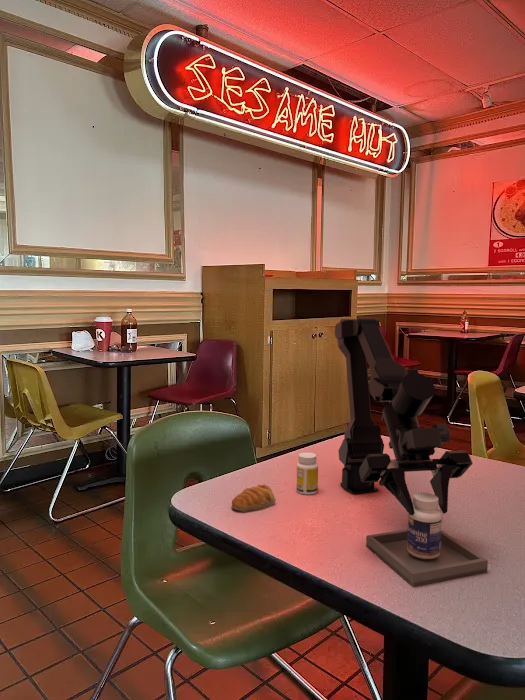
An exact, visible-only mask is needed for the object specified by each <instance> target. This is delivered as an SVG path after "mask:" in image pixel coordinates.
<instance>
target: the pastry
mask: <svg viewBox="0 0 525 700" xmlns="http://www.w3.org/2000/svg"><path fill="white" fill-rule="evenodd" d="M275 503H276V497H275V494H274V492H273V490H272V488H271V487H270V486H269V485H267V484H257V485H256V486H251V487H247V488H244V489H243V491H242V492H240V493H239V494H237V495H236V496H235V497H234V498H233V499H232V500H231V509H234V510H236V511H239V512H243V513H246V512H252V511H259V510H263V509H266V508H270V507H272V506H273V505H274V504H275Z"/></svg>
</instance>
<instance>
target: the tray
mask: <svg viewBox="0 0 525 700" xmlns="http://www.w3.org/2000/svg"><path fill="white" fill-rule="evenodd" d="M365 537H366V539H365V540H366V541H365V542H366V543H365V547H366V548H367V549H369V551H371V552H372V553H373V554H374V555H375V554H376V555H375V556H377V558H379V559H380V560H381V561H382V562H383V563H384V564H385V565H387V566H388V567H389V568H390V569H392V570H393V572H394V573H396V574H397V575H399V577H401V578H402V579H403V580H405V582H406V583H408V584H409V585H410V586H411V587H413V588H414V587H417V586H423V585H428V584H433V583H438V582H442V581H443V582H444V581H448V580H453V579H458V578H465V577H470V576H475V575H479V574H485V573H488V564H489V563H488V559H487V558H485V557H484V556H482V555H481V554H479V553H477V552H476V551H474V550H473V549H471V548H469V547H468V546H466V544H463V543H462V542H460V541H459V540H457V539H456V538H454V537H453V536H451V535H449V534H448V533H446V532H445V531H444V530H442V529H441V547H440V555H439V556H438V557H436V558H433V559H422V558H418V557H415V556H413V555H411V554H410V553H409V552H408V550H407V538H408V528H407V529H406V528H405V529H401V530H393V531H387V532H381V533H374V534H373V533H372V534H367V535H366V536H365Z"/></svg>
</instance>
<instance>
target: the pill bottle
mask: <svg viewBox="0 0 525 700" xmlns="http://www.w3.org/2000/svg"><path fill="white" fill-rule="evenodd" d="M412 503H413V507H414V512H415V513H414V515H410V514H409V513H408V512H407V514H408V515H407V517H408V519H407V520H408V521H407V529H408V538H407V550H408V552H409V553H410V554H411V555H413V556H415V557H418V558H422V559H433V558H436V557H438V556H439V555H440V547H441V530H442V525H443V524H442V523H443V513H442V511H441V509H440V508H439V504H438V497H437V496H435V494H434V493H429V492H418V493H414V495H413V499H412Z"/></svg>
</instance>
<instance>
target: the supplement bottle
mask: <svg viewBox="0 0 525 700" xmlns="http://www.w3.org/2000/svg"><path fill="white" fill-rule="evenodd" d="M317 456H318V455H317V454H316V453H314V452H300V453H299V454H298V462H297V464H296V492H297V493H299V494H300V495H314V494H316V493H318V491H319V465H318V464H319V463H317V461H318V460H317V459H318V458H317Z"/></svg>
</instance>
